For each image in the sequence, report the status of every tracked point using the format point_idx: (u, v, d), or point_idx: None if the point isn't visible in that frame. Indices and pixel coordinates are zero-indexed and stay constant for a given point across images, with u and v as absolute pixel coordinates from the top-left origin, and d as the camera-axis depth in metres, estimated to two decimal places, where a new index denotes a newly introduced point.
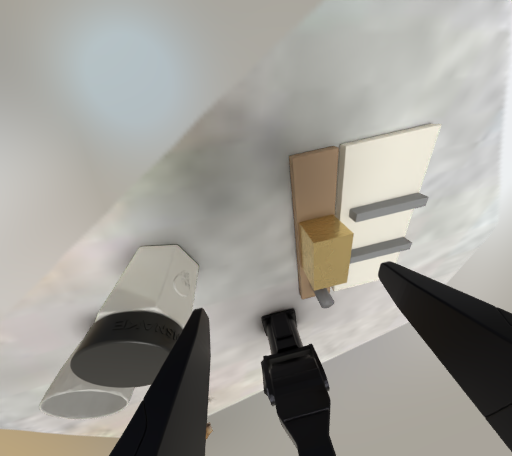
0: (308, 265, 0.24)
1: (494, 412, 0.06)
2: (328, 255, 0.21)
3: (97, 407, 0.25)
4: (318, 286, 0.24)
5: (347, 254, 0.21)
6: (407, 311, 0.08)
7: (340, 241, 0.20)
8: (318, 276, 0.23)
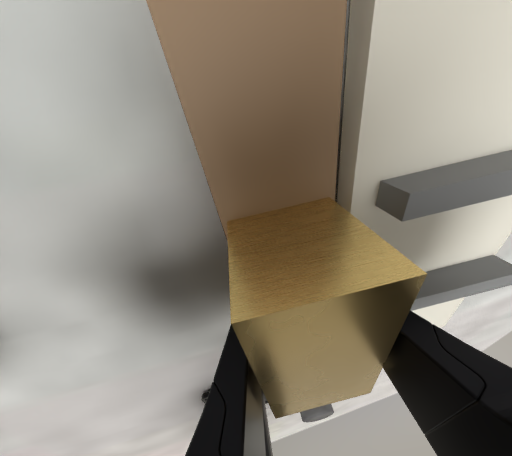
0: None
1: (430, 429, 0.06)
2: (310, 352, 0.05)
3: None
4: (287, 411, 0.08)
5: (383, 341, 0.06)
6: None
7: (360, 308, 0.04)
8: (282, 397, 0.07)
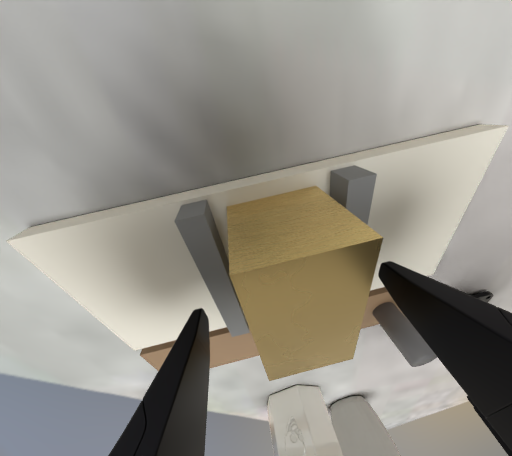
0: None
1: (494, 412, 0.06)
2: (294, 308, 0.06)
3: None
4: (279, 373, 0.09)
5: (356, 302, 0.07)
6: (407, 311, 0.08)
7: (333, 267, 0.06)
8: (274, 356, 0.08)
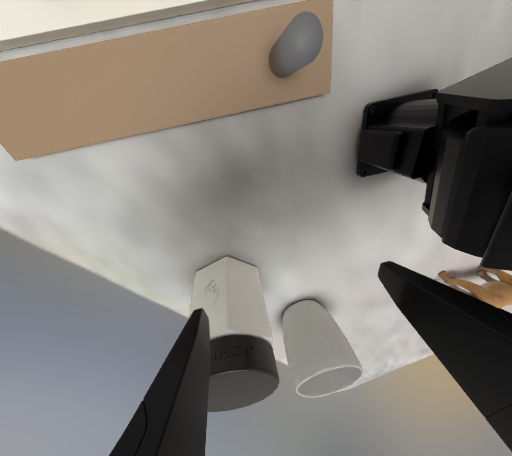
0: None
1: (494, 412, 0.06)
2: None
3: (353, 371, 0.25)
4: None
5: None
6: (407, 311, 0.08)
7: None
8: None
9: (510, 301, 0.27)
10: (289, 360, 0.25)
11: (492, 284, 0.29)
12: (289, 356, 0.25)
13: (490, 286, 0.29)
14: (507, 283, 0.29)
